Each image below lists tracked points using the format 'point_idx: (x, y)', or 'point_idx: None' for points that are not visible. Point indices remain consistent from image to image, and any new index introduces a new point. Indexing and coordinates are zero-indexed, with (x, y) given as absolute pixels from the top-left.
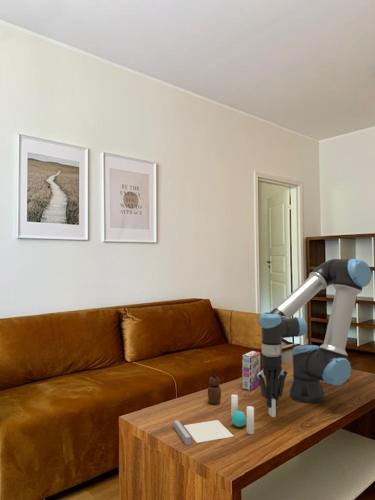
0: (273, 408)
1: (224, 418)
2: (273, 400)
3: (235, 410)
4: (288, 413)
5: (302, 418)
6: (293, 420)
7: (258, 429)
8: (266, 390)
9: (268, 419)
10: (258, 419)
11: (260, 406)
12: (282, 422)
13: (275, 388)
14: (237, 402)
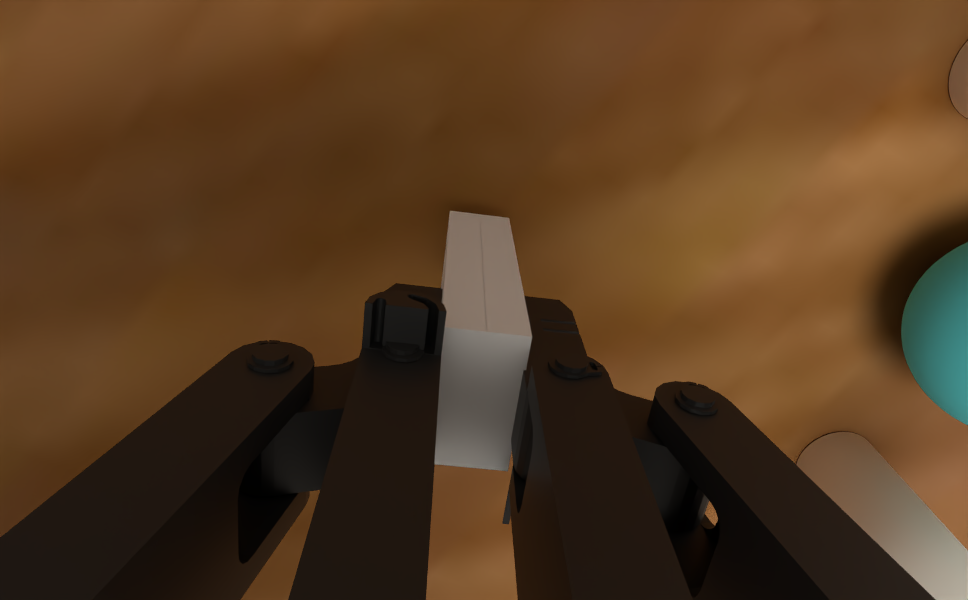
0: (493, 260)
1: None
2: (498, 326)
3: (925, 511)
4: (125, 310)
5: (10, 91)
6: (186, 101)
7: (831, 102)
8: (775, 525)
9: None
10: (611, 337)
11: None
12: (382, 123)
13: (416, 515)
14: (961, 597)
